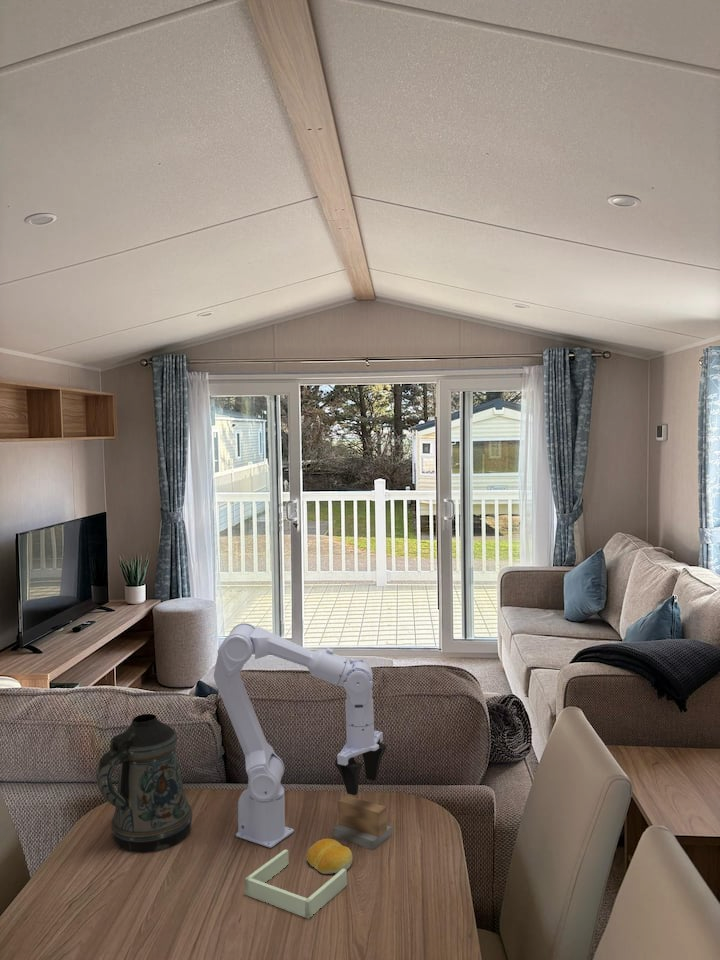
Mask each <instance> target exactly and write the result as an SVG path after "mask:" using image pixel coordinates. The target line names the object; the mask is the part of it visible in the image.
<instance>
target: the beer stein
mask: <svg viewBox="0 0 720 960" xmlns="http://www.w3.org/2000/svg"><path fill="white" fill-rule="evenodd" d="M178 737H179V736H178V733H177V732H176V730H174V728H172V727H171V726H170V725H167V724H166V723H164V722H161V720H159V719H158V717H157V715H155V714H151V713H144V714H139V715H137V716H135V717H133V719H132V721H131V724H130V725H129V726H128V727H127V728H126V730H125V731H124V732H121V733H119V734H116V735H115V736H113V737H112V739H111V740H110V742H109V743H110V744H109V745H110V750H108V751H107V752H105V753H104V754H103V755H102V756H101V758H100V760H99V763H98V766H97V769H96V775H95V776H96V777H95V778H96V779H95V780H96V784H97V787H98V790H99V793H100V794H101V795H102V797H103V798H104V799H105V800H106V802H108V803H109V804H110V805H112V806H114V807H115V808H114V809H115V810H114V814H113V815H112V816H113V817H112V819H111V822H110V827H111V828H110V829H111V832H112V836H113V842H114V843H115V844H116V845H117V846H118V847H119V848H120V849H122V850H125V851H127V852H133V853H142V854H143V853H149V852H151V853H152V852H159V851H162V850H166V849H169V848H172V847H174V846H176V845H178V844H180V842H182V841H184V840H185V839H186V838H187V836H188V835H189V834H190V833H191V825H192V819H193V811H192V807H191V805H190V803H189V800H188V797H187V795H186V792H185V788H184V784H183V781H182V776H181V771H180V765H179V762H178V761H179V760H178V757H177V754H176V746H177V744H178ZM118 765H119V771H118V772H119V773H118V777H117V778H118V779H117V790H116V789H115V788H114V785H113V784H112V783H113V782H112V775H113V771H114V770H115V768H116V766H118Z"/></svg>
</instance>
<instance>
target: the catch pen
mask: <svg viewBox="0 0 720 960" xmlns="http://www.w3.org/2000/svg"><path fill="white" fill-rule="evenodd" d="M289 859H290V858H289V850H288V849H284V850H282V851H281V852H279V853H278V854H277V855H275V856H274V857H272V858H271V859H270V860H268V861H267V862H265V863H264V864H263V865H262V866H259V867H258V869H256V870H255V871H253V872H252V873H251V874H249V875H248V876H246V878H245V877H244V895H245V896H247V897H250V898H252V899H255V900H258V901H261V902H263V903H265V902H266V903H265V904H268V903H269V904H268V905H271V906H273V905H274V906H273V907H276V908H279V909H282V910H284V911H287V912H289V913H292V914H294V915H298V916H300V917H303V918H306V919H308V920H310V919H311V918H312V917H313V916H314V915H315V914H317V912H319V909H320V908H321V909H322V908H323V907H325V905H326V904H327V903H329V902H330V901H331V900H332V899H333V898H334V897H335V896H337V894H339V893H340V892H341V891H342V890H344V889H345V888H346V887H347V886H348V884H347V883H348V882H347V875H348V874H347V872H348V871H347V870H348V869H347V870H346V869H342V870H340V871H339V872H338V873H335V874H334V875H333V876H332V877H331V878H330V879H329V880H327V881H326V882H325V883H324V884H323V885H321V887H319V888H318V889H317V890H316V891H314V892H313V893H312V894H311V895H309V897H305V896H301V895H299V894H296V893H293V892H290V891H288V890H286V889H282V888H280V887H277V886H274V885H271V884H268V882H269V881H270V880H272V879H273V878H274V877H275V876H277V875H278V874H279V873H280V871H281V870H282V869H283V868H285V867H286V866H287V865H288V864H289V865H290V863H289ZM289 865H288V866H289ZM288 866H287V867H288ZM287 867H286V868H287ZM286 868H285V869H286ZM283 870H284V869H283ZM283 870H282V871H283ZM282 871H281V872H282ZM277 873H278V874H277ZM276 874H277V875H276ZM274 875H275V876H274ZM273 876H274V877H273ZM272 877H273V878H272ZM269 879H270V880H269ZM268 880H269V881H268ZM267 881H268V882H267ZM265 882H266V883H265ZM321 909H320V910H321ZM313 914H314V915H313ZM310 917H311V918H310Z"/></svg>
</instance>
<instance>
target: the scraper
mask: <svg viewBox="0 0 720 960" xmlns="http://www.w3.org/2000/svg"><path fill="white" fill-rule="evenodd" d="M337 802H338V805H337V806H338V810H337V811H338V824H336V825H335V826H334V827H332V836H333V837H334V838H337V839H339V840H343V841H345V842H349V843H352V844H355V845H358V846H361V847H364V848H367V849H369V850H373V851H374V850H376V849H377V848H379V846H381V845H382V844H383V843H385V842H386V841H387V840H388V839H390V838H391V836H393V826H391V825H388V821H387V817H388V816H387V806H384V805H380V804H378V803H374V802H371V801H368V800H364V799H361V798H357V797H354V796H351V795H349V794H348V795H347V794H346V795H344V796H343V797H342V798H340V799H339V800H338V801H337ZM386 839H387V840H386ZM385 840H386V841H385ZM380 844H381V845H380ZM375 848H376V849H375Z"/></svg>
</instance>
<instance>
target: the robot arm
mask: <svg viewBox="0 0 720 960" xmlns="http://www.w3.org/2000/svg"><path fill="white" fill-rule="evenodd" d="M216 653H217V657H216V662H215V667H214V670H213V671H214V672H213V680H214V682H215V684H216V687H217V689H218V692H219V695H220V697H221V700H222V701H223V702H222V703H223V704H224V707H225V710H226V712H227V715H228V717H229V720H230V722H231V725H232V727H233V730H234V731H235V735H236V738H237V740H238V742H239V744H240V747H241V750H242V752H243V755H244V758H245V759H244V761H245V772H246V774H247V778H248V782H247V788H246V789H244V790H243V792H242V793H241V794H240V796H239V798H238V802H237V828H238V829H237V832H236V833H235V836H236V838H239V839H243V840H245V841H249V842H252V843H254V844H257V845H260V846H263V847H267V848H269V849H271V848H273V847H275V846H276V845H277V844H278V843H280V842H282V841H283V840H284V839H286V838H287V837H289V836H290V835H292V834H293V833H294V832H295V830H294V828H290V827H288V826H286V811H285V809H286V808H285V807H286V806H285V803H286V802H285V788H284V786H283V785H282V781H281V780H282V778H283V776H284V774H285V764H284V761H283V759H281V758H280V757H279V756H278V755H277V754H276V752H275V750H274V748H273V746H271V744H270V743H268V741H267V740H266V739H267V738H266V737H265V734H264V732H263V729H262V726H261V724H260V721H259V719H258V716H257V715H256V711H255V709H254V706H253V704H252V702H251V699H250V696H249V694H248V691H247V689H246V687H245V684H244V681H243V678H242V676H241V672H242V670H243V668H244V665H245V664H246V663H247V662H248V661H249V660H250V659H251V657H252V655H254V660H257V659H261V658H264V657H267V656H274V657H277V658H279V659H283V660H285V661H289V662H291V663H294V664H297V665H300V666H303V667H306V668H307V669H308V672H309V674H310V675H311V676H313V677H315V678H318V679H320V680H322V681H325V682H327V683H330V684H333V685H335V686H338V687H343V689H344V690H345V692H346V693H345V694H346V699H345V701H344V702H345V726H346V727H345V729H346V742H345V744H344V746H343V747H342V749H341V751H340V752H339V753H338V754H337V755H336V758H335V760H334V766H335V767H336V768H337V770H338V771H339V773H340V775H341V777H342V781H343V783H344V787H345V791H346V795H347V794H348V795H350V796H351V795H352V796H356V795H358V793H359V783H360V782H359V780H360V775H361V774H360V773H361V771H362V767H363V765H364V771H365V772H364V773H365V776H366V777H365V778H366V780H370V781H373V782H374V781H377V780H378V779H377V778H378V774H379V769H380V766H381V765H380V764H381V761H382V759H383V756H384V754H385V752H386V750H387V745H386V744H385V743H382V742H383V741H384V738H383V737H384V736H383V731H379V730H375V718H374V717H375V715H374V714H375V713H374V699H373V687H374V682H373V680H374V679H373V678H374V673H373V670H372V668H371V666H370V665H369V664H368V663H367V662H365V661H363V659H355V658H352V657H349V658H347V657H344V656H341V655H339V654H336V653H334V650H333V649H332V648H329V647H327V648H326V649H324V648H319V649H317V650H314V651H313V650H310V649H308V648H306V647H304V646H301V645H299V644H298V643H295V642H293V641H291V640H288V639H286V638H284V637H281V636H279V635H277V634H275V633H273V632H271V631H269V630H267V629H265V628H263V627H260V626H256V627H255V626H254V625H252V624H251V623H247V622H242V623H238V624H237V625H235V626H234V627H233V628H232V629H231V630H230V632H229V633H228V634H227V636H226V637H225V638H224V640H223V641H222V643H221V645H220V646H219V648H217V652H216ZM359 755H362V757H363V763H364V764H363V763H362V762H361V763H360V762H357V760H356V759H355V758H356V757H358V756H359Z"/></svg>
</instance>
